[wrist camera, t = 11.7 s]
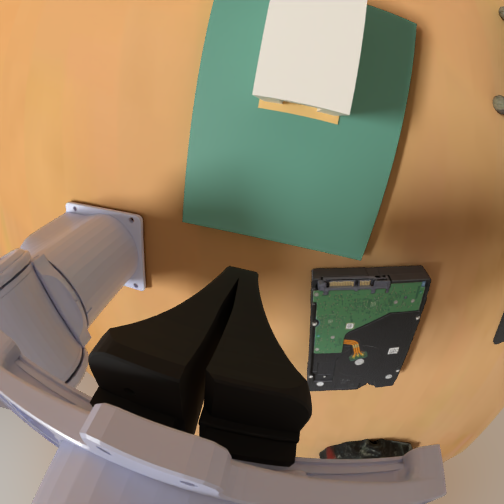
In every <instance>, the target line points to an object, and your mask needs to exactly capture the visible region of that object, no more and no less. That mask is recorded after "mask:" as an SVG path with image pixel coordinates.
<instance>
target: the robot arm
mask: <svg viewBox="0 0 504 504" xmlns="http://www.w3.org/2000/svg"><path fill="white" fill-rule="evenodd" d="M76 208H77V209H76ZM131 218H133V220H134V221H132V220H131ZM136 284H137V285H136ZM123 286H127V287H130V288H134V289H137V290H140V291H143V290H144V289H145V288H146V279H145V264H144V243H143V219H142V217H141V216H140V215H138V214H133V213H128V212H122V211H117V210H112V209H107V208H102V207H96V206H91V205H86V204H81V203H75V202H68V203H66V213H64V214H63V215H61V216H59V217H58V218H56V219H54V220H53V221H51V222H49V223H48V224H46V225H45V226H43V227H41V228H40V229H38V230H37V231H35V232H34V233H32V234H31V235H29V236H28V237H27V238H26V239H25V241H24V242H23V244H22V245H21V247H20V248H17V249H15V250H13V251H11V252H9V253H7V254H6V255H4V256H2V257H1V258H0V407H3V408H6V409H10V410H12V411H13V412H14V413H15V414H17V415H18V416H19V417H20V418H21V419H22V420H23V421H24V422H26V423H27V424H28V425H29V426H30V427H32V428H33V429H34V430H35V431H37V432H38V433H39V434H41V435H42V436H43V437H44V438H46V439H47V440H48V441H50V442H51V443H53V444H54V445H55V446H57V447H58V450H57V452H56V454H55V456H54V458H53V460H52V462H51V464H50V466H49V468H48V470H47V472H46V474H45V476H44V478H43V480H42V482H41V484H40V486H39V488H38V491H37V493H36V495H35V497H34V500H33V502H32V504H425V503H428V502H431V501H433V500H436V499H438V498H440V497H443V496H445V495H446V484H445V477H444V469H443V462H442V456H441V450H440V445H439V444H435V445H429V446H422V447H417V448H415V449H412V450H410V451H409V452H407V453H406V454H405V455H404V456H398V457H387V458H373V459H317V458H302V457H295V456H296V445H297V443H298V442H299V436H300V430H301V429H302V428H303V427H304V425H305V424H306V423H307V422H308V420H309V419H310V417H311V415H312V403H311V395H310V390H309V386H308V382H307V381H306V380H305V378H304V377H303V376H302V375H301V374H300V373H299V372H298V371H297V369H296V368H295V367H294V366H293V364H292V363H291V362H290V360H289V359H288V358H287V356H286V354H285V353H284V351H283V350H282V348H281V346H280V345H279V343H278V341H277V340H276V338H275V336H274V334H273V332H272V329H271V327H270V325H269V323H268V320H267V317H266V315H265V312H264V308H263V305H262V301H261V297H260V292H259V286H258V273H257V272H254V271H249V270H245V269H240V268H236V267H231V266H229V267H227V268H226V269H225V270H224V271H223V272H222V273H221V274H220V275H219V276H218V277H217V278H215V279H214V280H213V281H212V282H211V283H209V284H208V285H207V286H206V287H205V288H203V289H202V290H201V291H199V292H198V293H196V294H195V295H194V296H192V297H191V298H189V299H188V300H186V301H184V302H183V303H181V304H179V305H178V306H176V307H174V308H172V309H170V310H168V311H166V312H163V313H161V314H159V315H157V316H154V317H151V318H148V319H146V320H142V321H139V322H136V323H132V324H128V325H124V326H119V327H115V328H110V329H109V330H108V331H107V332H106V333H105V334H104V335H103V336H102V338H101V339H100V340H99V342H98V343H97V345H96V346H95V347H94V349H93V350H92V352H91V353H90V354H89V356H88V352H87V350H86V348H85V345H86V344H87V343H88V341H89V340H90V339H91V336H90V334H89V332H88V328H89V326H90V325H91V324H92V323H93V321H94V320H95V319H96V318H97V316H98V315H99V314H100V313H101V312H102V310H103V309H104V308H105V307H106V306H107V304H108V303H109V302H110V301H111V300H112V298H113V297H114V296H115V295H116V294H117V293H118V291H119V290H120V289H121V288H122V287H123ZM88 362H89V365H90V369H91V371H92V373H93V375H94V377H95V379H96V381H97V383H98V385H99V387H98V389H97V391H96V392H95V394H94V396H93V397H90V396H88V395H86V394H84V393H82V392H81V391H79V390H77V389H75V388H76V387H77V386H78V385H79V383H80V382H81V380H82V378H83V377H84V374H85V372H86V369H87V366H88ZM203 401H204V407H203V410H202V413H201V416H200V419H199V415H200V412H201V408H202V405H203ZM198 419H199V425H200V427H199V436H196V435H194V434H195V430H196V426H197V423H198Z"/></svg>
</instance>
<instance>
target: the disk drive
mask: <svg viewBox="0 0 504 504" xmlns="http://www.w3.org/2000/svg"><path fill="white" fill-rule="evenodd" d="M430 283H431V278H430V277H429V275H428V274H427V272H426V271H425V269H424V268H423V266H394V267H371V268H365V267H362V268H331V269H325V268H316V269H312V282H311V296H310V297H311V299H310V300H311V317H310V339H309V359H308V366H307V382H308V386H309V390H310V391H326V390H352V389H358V388H360V387H361V386H364V385H366V383H368V384H369V385H374V386H375V387H384V386H392V385H393V384H394V382H395V380H396V379H397V376H398V374H399V372H400V369H401V367H402V365H403V362H404V360H405V357H406V355H407V352H408V350H409V347H410V344H411V342H412V340H413V336H414V334H415V331H416V329H417V326H418V323H419V321H420V317H421V313H422V311H423V309H424V305H425V303H426V299H427V294H428V291H429V287H430Z"/></svg>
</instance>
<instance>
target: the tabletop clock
mask: <svg viewBox="0 0 504 504" xmlns="http://www.w3.org/2000/svg"><path fill="white" fill-rule="evenodd" d="M499 14H500V16H501V17H502V18H503V19H504V7H500V8H499ZM493 106H494V108H495V109H496V111H497V112H498V113H500V114H504V97H503V96H501V95H498V96H495V97H494V99H493Z"/></svg>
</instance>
